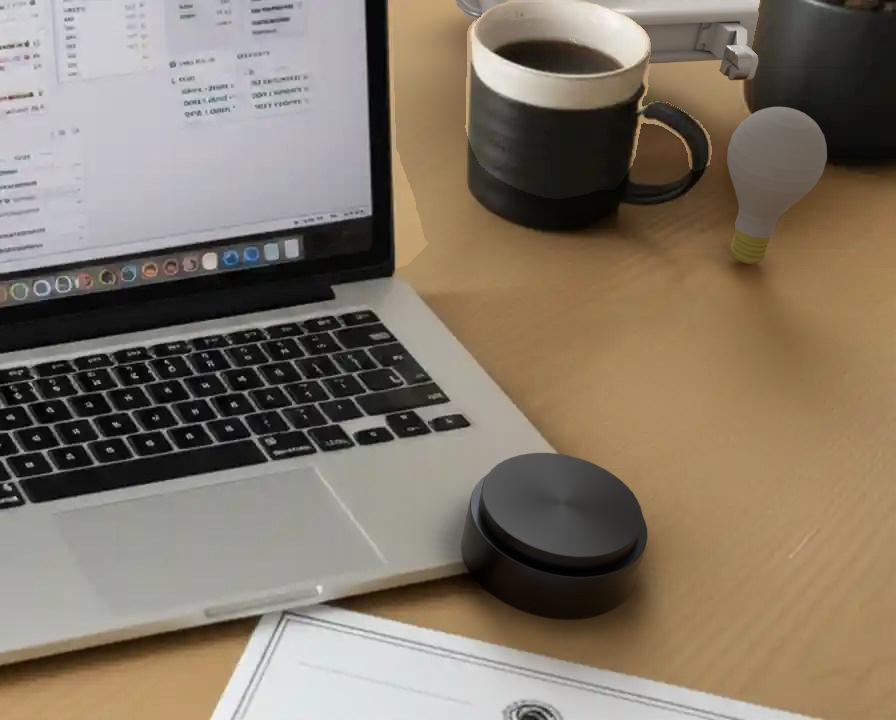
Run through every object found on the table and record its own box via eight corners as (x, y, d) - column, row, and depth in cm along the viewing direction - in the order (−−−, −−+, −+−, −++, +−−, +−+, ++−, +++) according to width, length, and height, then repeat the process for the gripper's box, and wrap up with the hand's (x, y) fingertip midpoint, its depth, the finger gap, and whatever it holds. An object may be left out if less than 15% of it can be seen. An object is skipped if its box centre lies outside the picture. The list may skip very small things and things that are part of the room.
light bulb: (775, 241, 102) (821, 93, 96) (801, 289, 98) (852, 137, 92) (688, 235, 102) (730, 87, 96) (711, 283, 97) (756, 131, 91)
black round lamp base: (587, 491, 80) (601, 438, 78) (667, 605, 74) (684, 550, 72) (434, 512, 78) (445, 457, 76) (504, 631, 72) (518, 575, 70)
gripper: (453, -56, 110) (541, 33, 99) (722, -63, 116) (832, 20, 105) (438, 32, 113) (522, 127, 103) (699, 21, 119) (804, 110, 109)
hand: (681, 73), depth 104 cm, fingers open, 8 cm apart
